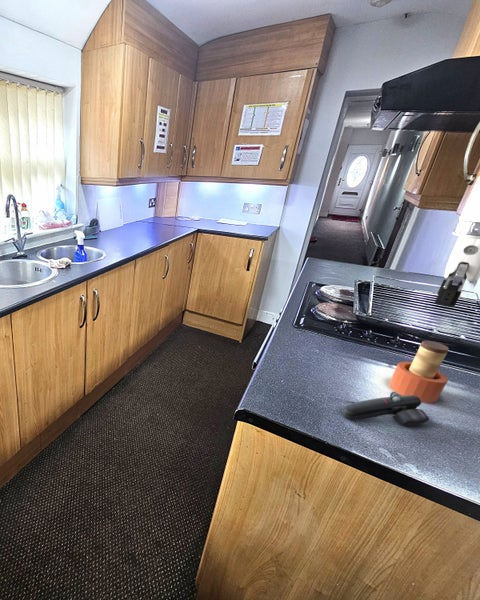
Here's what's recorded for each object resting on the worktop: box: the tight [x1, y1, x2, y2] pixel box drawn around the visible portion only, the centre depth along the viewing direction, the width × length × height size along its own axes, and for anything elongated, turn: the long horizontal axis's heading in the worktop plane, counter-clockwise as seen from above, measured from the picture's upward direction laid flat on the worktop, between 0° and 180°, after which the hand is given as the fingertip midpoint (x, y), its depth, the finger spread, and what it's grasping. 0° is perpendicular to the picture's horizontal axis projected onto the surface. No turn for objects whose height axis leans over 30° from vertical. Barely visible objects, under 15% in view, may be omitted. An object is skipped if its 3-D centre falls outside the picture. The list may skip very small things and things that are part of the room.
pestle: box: [408, 340, 450, 379], centre depth 82 cm, size 5×5×14 cm
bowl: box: [388, 361, 449, 404], centre depth 83 cm, size 9×9×7 cm
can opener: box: [342, 391, 430, 427], centre depth 75 cm, size 18×7×6 cm, turn 91°
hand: (444, 300), depth 79 cm, fingers open, 9 cm apart
